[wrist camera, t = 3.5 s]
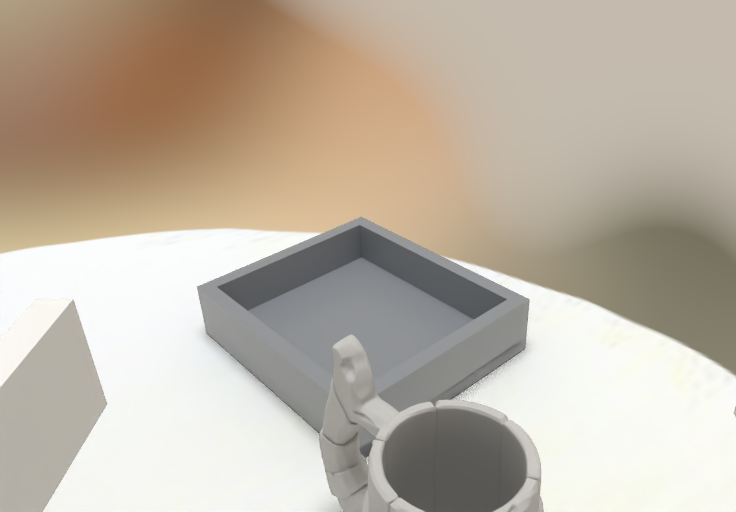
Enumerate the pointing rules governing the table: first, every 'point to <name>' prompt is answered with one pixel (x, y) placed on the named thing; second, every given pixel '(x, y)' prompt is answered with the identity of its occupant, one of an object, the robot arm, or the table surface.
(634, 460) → the table surface
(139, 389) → the table surface
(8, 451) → the robot arm
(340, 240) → the box
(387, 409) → the mug
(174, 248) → the table surface
